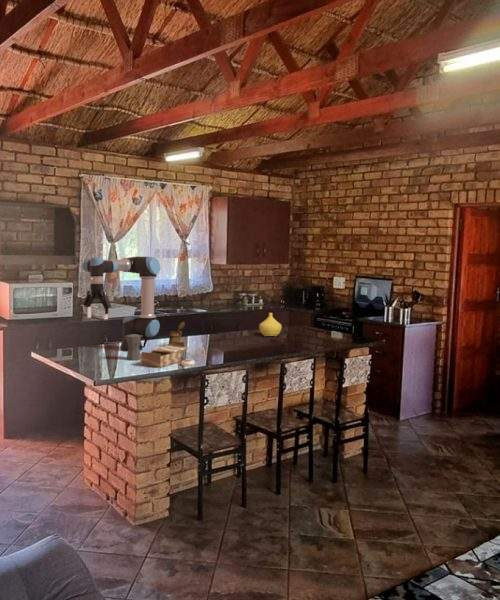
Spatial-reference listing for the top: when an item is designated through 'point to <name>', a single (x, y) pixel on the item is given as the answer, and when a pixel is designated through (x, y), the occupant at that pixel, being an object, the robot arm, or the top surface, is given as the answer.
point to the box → (159, 358)
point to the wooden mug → (176, 334)
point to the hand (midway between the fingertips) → (97, 318)
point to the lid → (172, 347)
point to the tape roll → (187, 362)
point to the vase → (270, 326)
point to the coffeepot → (134, 345)
